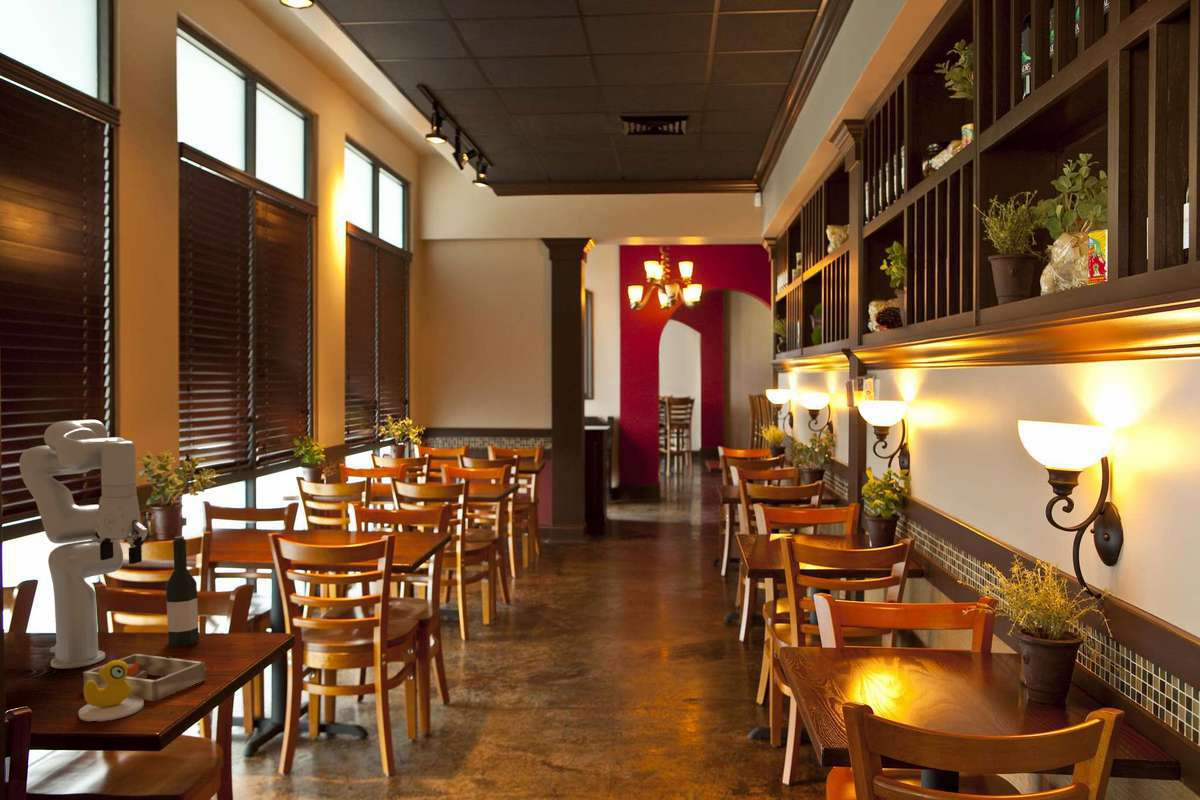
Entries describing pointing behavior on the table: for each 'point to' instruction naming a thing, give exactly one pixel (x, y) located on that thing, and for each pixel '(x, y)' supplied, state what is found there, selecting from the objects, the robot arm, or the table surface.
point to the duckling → (110, 684)
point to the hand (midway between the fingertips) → (121, 560)
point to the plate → (112, 710)
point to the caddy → (174, 670)
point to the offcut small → (136, 672)
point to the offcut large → (141, 675)
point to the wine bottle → (181, 600)
